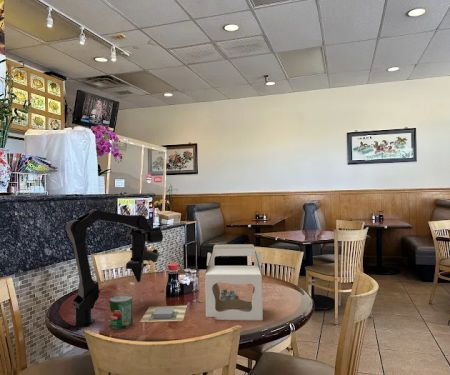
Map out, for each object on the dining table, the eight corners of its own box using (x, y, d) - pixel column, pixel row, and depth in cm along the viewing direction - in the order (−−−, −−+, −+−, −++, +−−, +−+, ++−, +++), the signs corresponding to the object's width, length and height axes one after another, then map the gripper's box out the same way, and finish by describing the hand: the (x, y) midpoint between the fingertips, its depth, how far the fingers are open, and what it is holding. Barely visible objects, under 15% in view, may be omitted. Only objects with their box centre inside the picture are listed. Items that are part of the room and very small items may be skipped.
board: (182, 323, 131) (182, 320, 131) (139, 325, 130) (139, 321, 130) (187, 308, 149) (187, 305, 149) (149, 309, 148) (149, 306, 148)
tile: (174, 311, 141) (171, 318, 133) (156, 311, 141) (153, 318, 133) (174, 307, 141) (171, 313, 133) (156, 307, 141) (153, 314, 133)
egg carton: (222, 295, 168) (222, 287, 168) (237, 296, 167) (237, 287, 167) (218, 302, 157) (218, 293, 157) (235, 302, 156) (235, 293, 156)
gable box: (205, 319, 135) (203, 246, 135) (210, 308, 148) (208, 242, 149) (263, 320, 132) (261, 246, 133) (263, 309, 146) (261, 242, 146)
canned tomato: (136, 325, 130) (136, 295, 130) (125, 333, 122) (125, 301, 123) (117, 323, 132) (117, 294, 132) (105, 331, 124) (105, 300, 125)
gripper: (153, 247, 139) (154, 287, 138) (161, 241, 158) (161, 276, 157) (125, 248, 139) (125, 287, 138) (136, 242, 157) (136, 277, 157)
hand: (139, 281), depth 148 cm, fingers closed
